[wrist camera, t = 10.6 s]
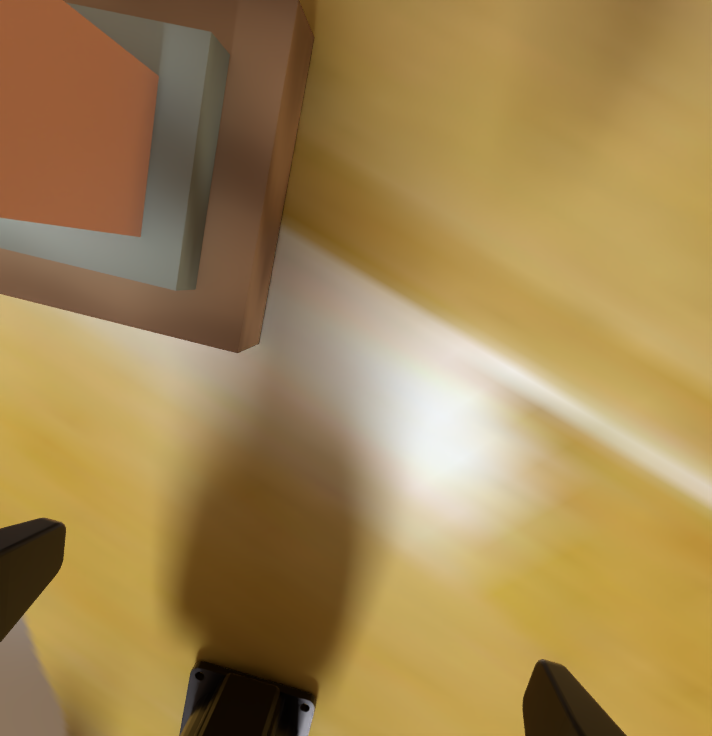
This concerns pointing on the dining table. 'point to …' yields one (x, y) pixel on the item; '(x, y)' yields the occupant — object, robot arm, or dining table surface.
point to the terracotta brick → (71, 121)
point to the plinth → (235, 187)
